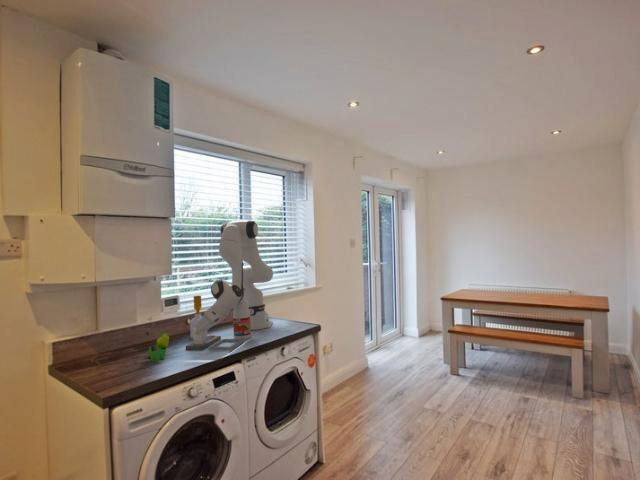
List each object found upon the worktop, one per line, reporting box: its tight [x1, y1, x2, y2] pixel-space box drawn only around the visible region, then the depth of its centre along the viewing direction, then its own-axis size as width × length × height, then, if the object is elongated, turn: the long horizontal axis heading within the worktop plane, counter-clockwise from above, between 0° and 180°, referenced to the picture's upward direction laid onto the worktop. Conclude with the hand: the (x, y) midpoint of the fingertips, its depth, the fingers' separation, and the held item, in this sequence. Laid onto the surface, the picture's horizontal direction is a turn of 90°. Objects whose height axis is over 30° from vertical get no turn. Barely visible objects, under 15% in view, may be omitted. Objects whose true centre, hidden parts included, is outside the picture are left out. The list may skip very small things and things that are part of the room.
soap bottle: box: [189, 295, 208, 340], centre depth 210 cm, size 9×9×25 cm
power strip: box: [185, 334, 222, 351], centre depth 192 cm, size 20×9×4 cm, turn 169°
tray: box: [207, 338, 244, 353], centre depth 187 cm, size 16×12×2 cm
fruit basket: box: [148, 333, 170, 363], centre depth 175 cm, size 11×9×11 cm
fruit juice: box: [232, 288, 252, 340], centre depth 204 cm, size 9×9×28 cm
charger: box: [193, 328, 206, 344], centre depth 188 cm, size 4×4×10 cm
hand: (201, 331), depth 188 cm, fingers open, 8 cm apart
